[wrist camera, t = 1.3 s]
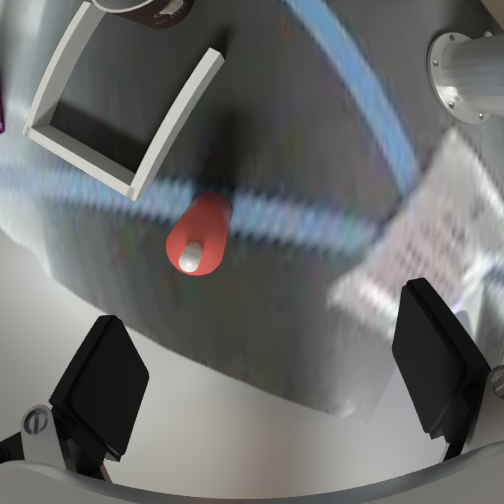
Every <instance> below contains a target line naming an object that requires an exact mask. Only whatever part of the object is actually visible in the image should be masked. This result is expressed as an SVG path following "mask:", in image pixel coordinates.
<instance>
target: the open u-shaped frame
mask: <svg viewBox="0 0 504 504" xmlns="http://www.w3.org/2000/svg"><path fill="white" fill-rule="evenodd" d="M105 13H106V12H105V11H103V10H101V9H99V8H97V7H96V6H95V5H93V4H92V3H88V2H84V3H83V4H82V6H81V7H80V9H79V10H78V12H77V13H76V15H75V17H74V18H73V20H72V22H71V23H70V25H69V27H68V29H67V30H66V32H65V34H64V36H63V38H62V39H61V41H60V43H59V45H58V47H57V49H56V51H55V53H54V55H53V57H52V59H51V61H50V63H49V65H48V67H47V70H46V72H45V74H44V76H43V79H42V81H41V83H40V86H39V88H38V91H37V93H36V96H35V98H34V101H33V104H32V106H31V109H30V112H29V115H28V118H27V121H26V124H25V127H24V130H23V133H22V134H24V135H26V136H27V137H29V138H31V139H32V140H34V141H35V142H37V143H39V144H40V145H42V146H44V147H45V148H47V149H48V150H50V151H52V152H53V153H55V154H57V155H58V156H60V157H62V158H63V159H65V160H67V161H68V162H70V163H71V164H73V165H75V166H76V167H78V168H80V169H81V170H83V171H85V172H86V173H88V174H90V175H91V176H93V177H95V178H96V179H98V180H100V181H101V182H103V183H105V184H106V185H108V186H110V187H112V188H113V189H115V190H117V191H118V192H120V193H122V194H123V195H125V196H127V197H128V198H130V199H132V200H133V201H136V200H137V199H139V198H140V197H141V196H142V195H144V194H145V193H146V192H147V191H148V189H149V187H150V185H151V183H152V181H153V179H154V177H155V176H156V174H157V172H158V170H159V168H160V166H161V164H162V162H163V160H164V158H165V157H166V155H167V153H168V151H169V149H170V147H171V146H172V144H173V142H174V140H175V138H176V137H177V135H178V133H179V131H180V130H181V128H182V126H183V125H184V123H185V121H186V120H187V118H188V116H189V115H190V113H191V111H192V110H193V108H194V106H195V105H196V103H197V102H198V100H199V98H200V97H201V95H202V94H203V92H204V91H205V89H206V88H207V86H208V85H209V83H210V81H211V80H212V78H213V77H214V76H215V74H216V73H217V71H218V70H219V68H220V67H221V65H222V64H223V62H224V61H225V60H224V58H223V57H222V55H221V53H219V52H217V51H215V50H213V49H211V48H209V50H208V51H207V52H206V54H205V55H204V57H203V58H202V60H201V61H200V63H199V64H198V66H197V67H196V68H195V70H194V72H193V73H192V75H191V76H190V78H189V79H188V81H187V82H186V84H185V86H184V87H183V89H182V90H181V92H180V94H179V95H178V97H177V98H176V100H175V102H174V103H173V105H172V107H171V109H170V110H169V112H168V114H167V115H166V117H165V119H164V121H163V123H162V124H161V126H160V128H159V130H158V132H157V133H156V135H155V137H154V139H153V141H152V143H151V145H150V147H149V149H148V151H147V153H146V154H145V156H144V158H143V160H142V162H141V165H140V167H139V169H138V171H137V173H136V174H135V173H133V172H132V171H130V170H128V169H126V168H125V167H123V166H121V165H119V164H118V163H116V162H114V161H113V160H111V159H109V158H107V157H106V156H104V155H102V154H100V153H99V152H97V151H95V150H93V149H92V148H90V147H88V146H86V145H85V144H83V143H81V142H79V141H78V140H76V139H74V138H72V137H70V136H69V135H67V134H65V133H63V132H62V131H60V130H58V129H56V128H55V127H53V126H51V125H50V122H51V119H52V117H53V114H54V112H55V109H56V107H57V104H58V102H59V99H60V97H61V95H62V92H63V90H64V88H65V86H66V83H67V81H68V79H69V77H70V75H71V73H72V71H73V69H74V67H75V65H76V63H77V61H78V59H79V57H80V55H81V53H82V51H83V50H84V48H85V46H86V44H87V42H88V41H89V39H90V37H91V35H92V34H93V32H94V30H95V29H96V27H97V26H98V24H99V22H100V21H101V19H102V18H103V16H104V15H105Z"/></svg>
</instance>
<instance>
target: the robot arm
mask: <svg viewBox="0 0 504 504" xmlns="http://www.w3.org/2000/svg"><path fill="white" fill-rule="evenodd" d="M427 70H428V75H429V79H430V83H431V86H432V88H433V91H434V93H435V95H436V97H437V98H438V100H439V102H440V103H441V105H442V106H443V107H444V108H445V110H446V111H447V112H448V113H449V114H451V115H452V116H453V117H454V118H456V119H458V120H459V121H462V122H465V123H470V124H480V123H483V122H485V121H486V120H487V119H489V118H490V116H491V115H496V116H502V117H504V34H501V35H494V36H493V35H492V34H491V33H490V32H488V31H485V32H484V34H483V36H482V37H481V38H476V39H471V38H469V37H467V36H466V35H464V34H460V33H457V32H449V33H445V34H442V35H440V36H438V37H437V38H436V39H435V40H434V41H433V42H432V44H431V45H430V48H429V51H428V57H427ZM392 352H393V356H394V358H395V361H396V363H397V365H398V367H399V370H400V372H401V375H402V377H403V379H404V381H405V384H406V386H407V389H408V391H409V394H410V396H411V399H412V401H413V404H414V407H415V409H416V412H417V414H418V417H419V419H420V422H421V425H422V428H423V430H424V432H425V433H429V434H430V437H431V439H435V438H438V437H440V436H443V435H444V438H445V440H446V442H447V444H446V447H445V449H444V451H443V454H442V456H441V458H440V461H439V463H438V464H436V465H434V466H430V467H428V468H425V469H422V470H419V471H416V472H413V473H410V474H406V475H403V476H399V477H396V478H393V479H389V480H385V481H382V482H378V483H374V484H370V485H366V486H361V487H357V488H352V489H346V490H341V491H335V492H330V493H323V494H315V495H307V496H299V497H287V498H272V499H214V498H200V497H189V496H180V495H172V494H165V493H158V492H152V491H147V490H141V489H136V488H131V487H127V486H122V485H118V484H114V483H112V481H111V479H110V477H109V475H108V472H107V470H106V468H105V466H104V463H103V461H104V458H106V459H107V460H111V461H116V462H120V459H121V456H122V455H124V454H125V452H126V449H127V446H128V442H129V439H130V436H131V433H132V430H133V426H134V423H135V420H136V417H137V414H138V411H139V408H140V405H141V402H142V399H143V396H144V393H145V390H146V387H147V384H148V381H149V373H148V370H147V368H146V366H145V365H144V363H143V361H142V359H141V357H140V355H139V354H138V352H137V350H136V348H135V346H134V344H133V342H132V340H131V338H130V336H129V334H128V332H127V330H126V328H125V326H124V324H123V322H122V320H120V319H118V318H117V316H115V315H102V316H99V317H98V319H97V320H96V322H95V323H94V325H93V326H92V328H91V329H90V331H89V333H88V334H87V336H86V337H85V339H84V341H83V342H82V344H81V346H80V347H79V349H78V350H77V352H76V354H75V355H74V357H73V359H72V360H71V362H70V364H69V365H68V367H67V369H66V371H65V372H64V374H63V376H62V378H61V379H60V381H59V383H58V385H57V386H56V388H55V390H54V392H53V394H52V396H51V398H50V399H49V402H50V404H51V405H52V406H53V407H52V409H51V410H50V409H49V408H48V407H47V406H45V405H36V406H33V407H32V408H30V409H29V410H28V411H27V412H26V413H25V414H24V416H23V418H22V420H21V431H20V432H18V433H17V434H14V435H13V436H11V437H9V438H7V439H5V440H3V441H1V442H0V504H504V364H503V365H498V366H496V367H495V368H493V369H492V370H491V368H490V366H489V365H488V362H487V361H486V359H485V358H484V356H483V355H482V353H481V352H480V350H479V349H478V347H477V346H476V344H475V343H474V341H473V340H472V339H471V337H470V336H469V334H468V333H467V332H466V330H465V329H464V328H463V326H462V325H461V323H460V322H459V320H458V319H457V318H456V317H455V315H454V314H453V312H452V311H451V310H450V308H449V307H448V306H447V305H446V303H445V302H444V301H443V299H442V298H441V297H440V296H439V294H438V293H437V292H436V291H435V289H434V288H433V287H432V286H431V284H430V283H429V282H428V281H427V280H426V279H425V278H418V279H413V280H408V281H407V283H406V285H405V286H403V287H402V291H401V298H400V305H399V311H398V317H397V323H396V329H395V334H394V339H393V344H392Z"/></svg>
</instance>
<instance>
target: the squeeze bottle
mask: <svg viewBox="0 0 504 504" xmlns="http://www.w3.org/2000/svg"><path fill="white" fill-rule="evenodd" d="M231 217H232V208H231V205H230V203H229V202H228V200H227V199H226V198H225V197H224V196H222V195H221V194H219V193H216V192H204V193H201V194H199V195H198V196H197V197H195V198H194V200H193V201H192V202H191V204H190V205H189V207H188V208H187V209H186V211H185V212H184V214H183V215H182V217H181V218H180V219H179V221H178V222H177V224H176V225H175V227H174V228H173V230H172V231H171V233H170V234H169V236H168V238H167V242H166V251H167V255H168V257H169V259H170V261H171V262H172V264H173V265H174V266H175V267H176V268H177V269H179V270H180V271H182V272H184V273H187V274H190V275H204V274H207V273H210V272H212V271H213V270H214V269H216V268H217V267H218V265H219V264H220V262H221V260H222V257H223V253H224V248H225V244H226V239H227V235H228V230H229V226H230V222H231Z"/></svg>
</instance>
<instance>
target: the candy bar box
mask: <svg viewBox="0 0 504 504" xmlns="http://www.w3.org/2000/svg"><path fill="white" fill-rule="evenodd" d="M2 133H4V127H3V118H2V108H1V95H0V134H2Z"/></svg>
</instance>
